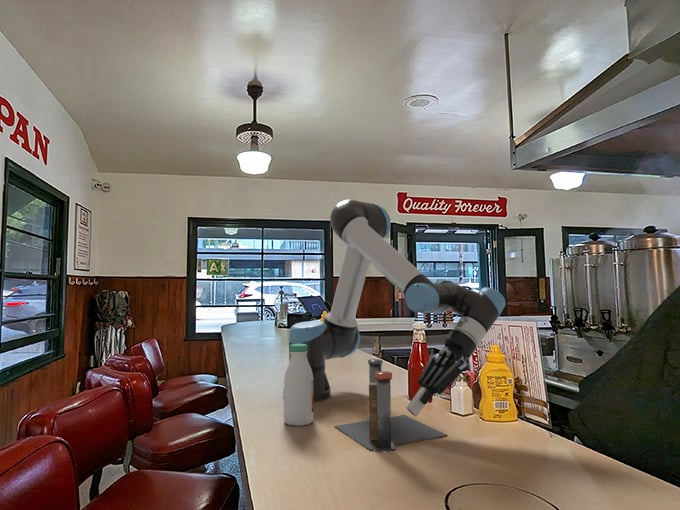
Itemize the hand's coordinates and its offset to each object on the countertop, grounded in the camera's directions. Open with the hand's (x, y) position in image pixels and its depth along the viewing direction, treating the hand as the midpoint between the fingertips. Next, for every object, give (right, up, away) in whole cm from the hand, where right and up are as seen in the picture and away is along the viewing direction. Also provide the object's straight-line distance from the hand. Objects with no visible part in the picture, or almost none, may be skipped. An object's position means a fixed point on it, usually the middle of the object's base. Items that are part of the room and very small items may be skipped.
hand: (411, 412), depth 108 cm
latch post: (-7, -5, -9) cm, 13 cm away
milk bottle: (-28, -6, +9) cm, 30 cm away
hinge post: (-8, -6, +9) cm, 13 cm away
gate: (-9, -4, 0) cm, 10 cm away
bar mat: (-5, -5, +2) cm, 7 cm away
